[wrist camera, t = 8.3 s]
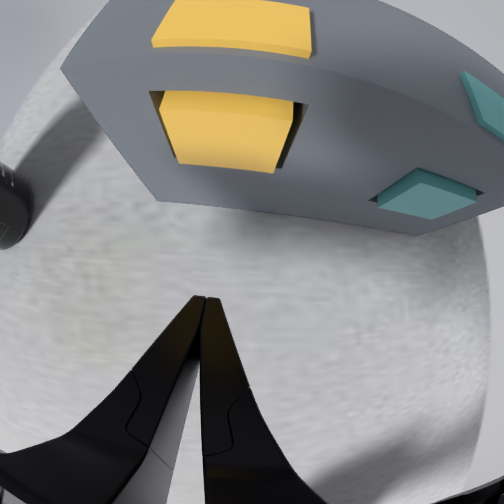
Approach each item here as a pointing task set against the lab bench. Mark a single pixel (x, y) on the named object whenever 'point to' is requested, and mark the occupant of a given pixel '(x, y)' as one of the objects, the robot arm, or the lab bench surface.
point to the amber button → (226, 128)
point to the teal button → (426, 195)
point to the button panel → (300, 102)
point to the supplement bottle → (13, 206)
